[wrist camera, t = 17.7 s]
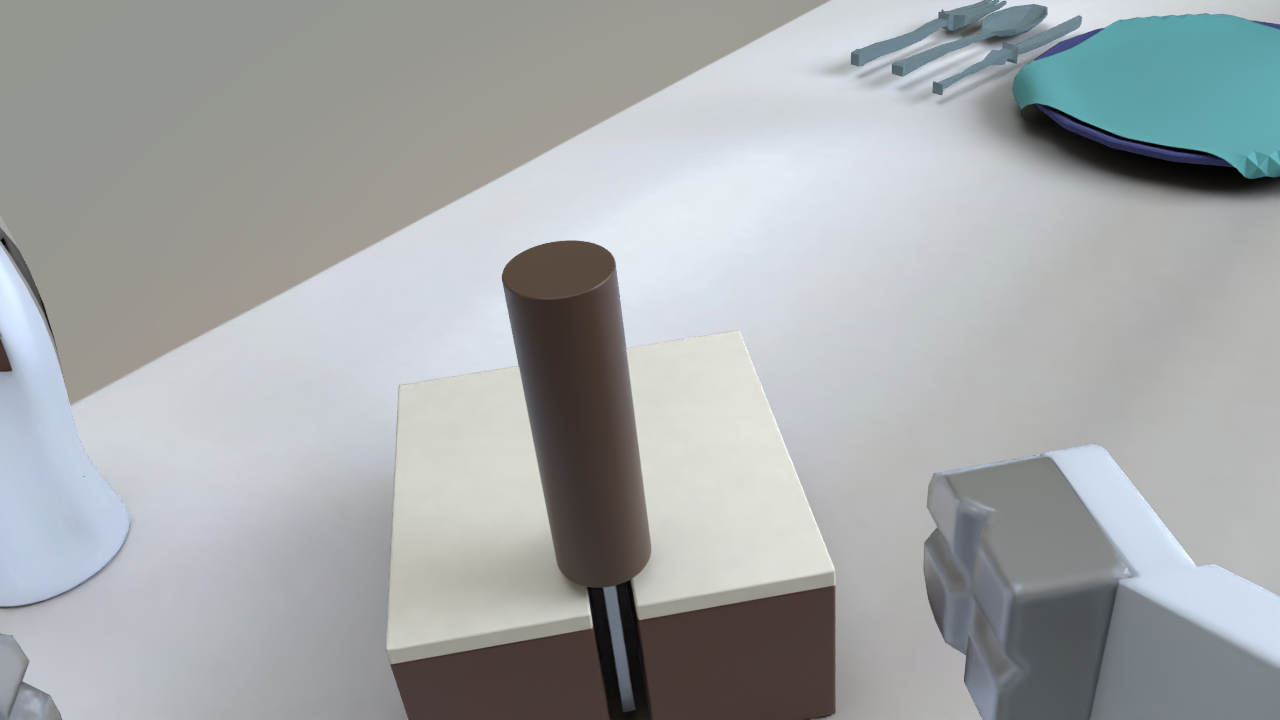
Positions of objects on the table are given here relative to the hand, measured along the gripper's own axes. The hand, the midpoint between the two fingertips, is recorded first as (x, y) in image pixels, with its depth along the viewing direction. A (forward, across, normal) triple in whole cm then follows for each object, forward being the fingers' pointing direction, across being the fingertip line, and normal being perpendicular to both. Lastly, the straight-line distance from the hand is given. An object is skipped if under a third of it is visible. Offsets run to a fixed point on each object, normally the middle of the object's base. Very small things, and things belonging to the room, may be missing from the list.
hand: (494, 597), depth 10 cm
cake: (+20, -1, +21) cm, 29 cm away
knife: (+21, -1, +21) cm, 30 cm away
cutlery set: (+52, -36, +21) cm, 67 cm away
